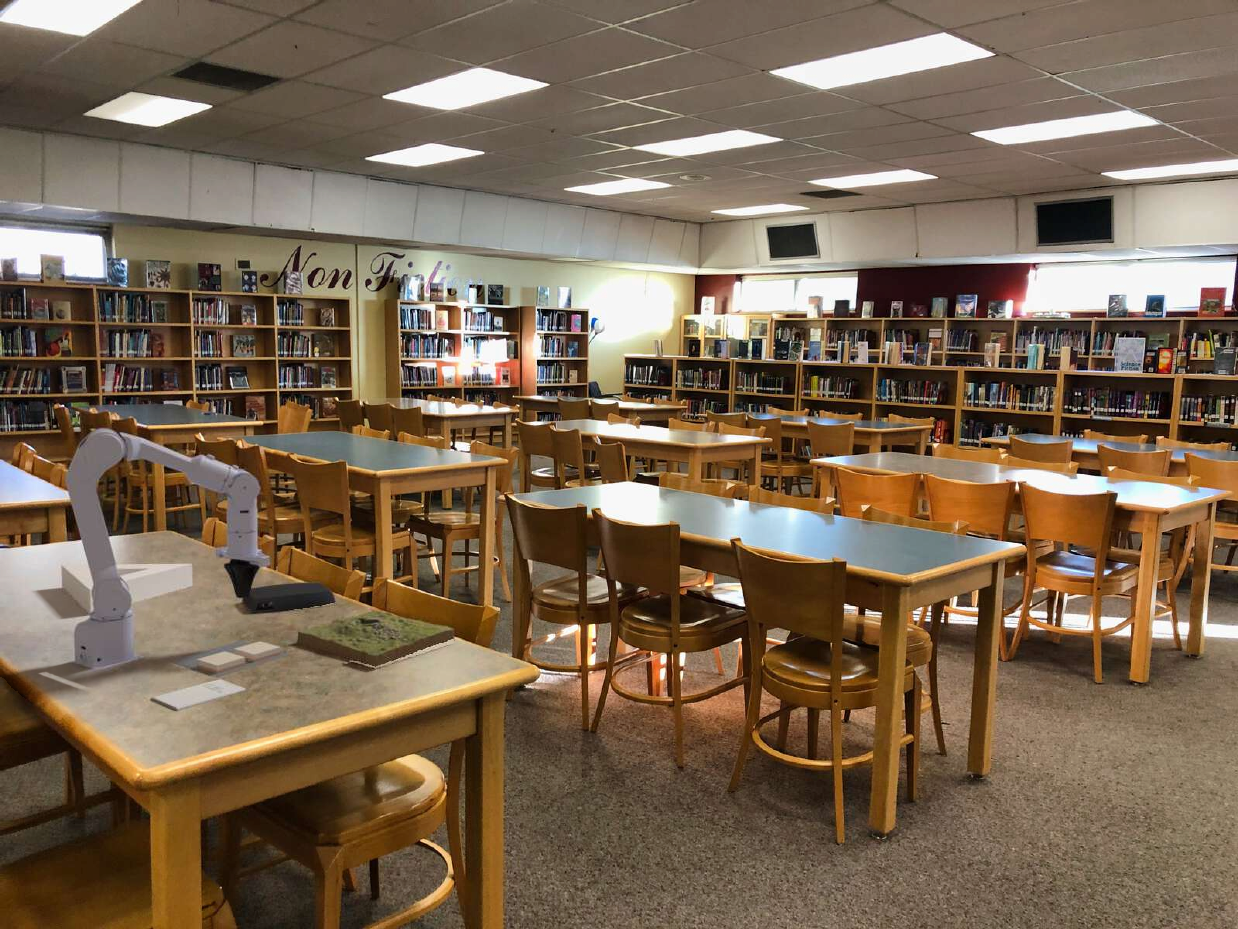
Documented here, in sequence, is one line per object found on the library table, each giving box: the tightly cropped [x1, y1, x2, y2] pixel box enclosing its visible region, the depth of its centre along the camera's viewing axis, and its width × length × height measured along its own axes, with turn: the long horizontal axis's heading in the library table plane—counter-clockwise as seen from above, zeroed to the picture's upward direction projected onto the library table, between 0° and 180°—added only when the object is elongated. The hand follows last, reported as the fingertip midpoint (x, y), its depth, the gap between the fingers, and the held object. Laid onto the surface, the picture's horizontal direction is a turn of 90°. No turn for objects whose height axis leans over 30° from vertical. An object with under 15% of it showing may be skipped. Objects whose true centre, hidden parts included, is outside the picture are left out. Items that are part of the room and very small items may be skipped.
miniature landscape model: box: [296, 610, 455, 667], centre depth 191 cm, size 22×24×5 cm
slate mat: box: [168, 640, 291, 678], centre depth 178 cm, size 16×15×1 cm
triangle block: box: [60, 563, 193, 615], centre depth 224 cm, size 30×26×6 cm
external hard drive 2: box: [241, 581, 337, 615], centre depth 220 cm, size 13×19×4 cm
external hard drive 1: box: [150, 678, 247, 712], centre depth 158 cm, size 2×8×12 cm
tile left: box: [197, 651, 245, 673], centre depth 173 cm, size 6×2×6 cm
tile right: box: [234, 640, 281, 662], centre depth 180 cm, size 6×2×6 cm
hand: (242, 596), depth 186 cm, fingers closed
